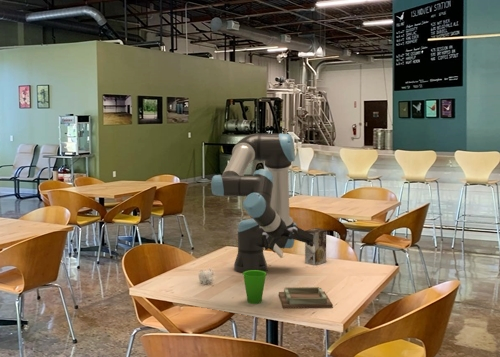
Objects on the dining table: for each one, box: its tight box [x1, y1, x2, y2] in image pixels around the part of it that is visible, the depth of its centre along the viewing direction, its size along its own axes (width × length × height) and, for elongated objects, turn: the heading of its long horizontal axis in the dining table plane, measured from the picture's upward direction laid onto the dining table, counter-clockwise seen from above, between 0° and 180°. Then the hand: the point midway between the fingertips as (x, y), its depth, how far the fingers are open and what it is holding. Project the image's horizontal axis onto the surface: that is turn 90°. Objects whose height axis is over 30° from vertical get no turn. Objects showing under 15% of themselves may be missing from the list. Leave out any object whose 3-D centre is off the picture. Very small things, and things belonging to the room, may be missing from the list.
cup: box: [242, 270, 267, 305], centre depth 207 cm, size 9×9×11 cm
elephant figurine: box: [198, 268, 214, 285], centre depth 231 cm, size 7×8×6 cm
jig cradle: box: [278, 286, 334, 309], centre depth 209 cm, size 16×18×3 cm
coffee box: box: [304, 227, 327, 266], centre depth 267 cm, size 9×6×16 cm
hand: (297, 252), depth 213 cm, fingers open, 13 cm apart
